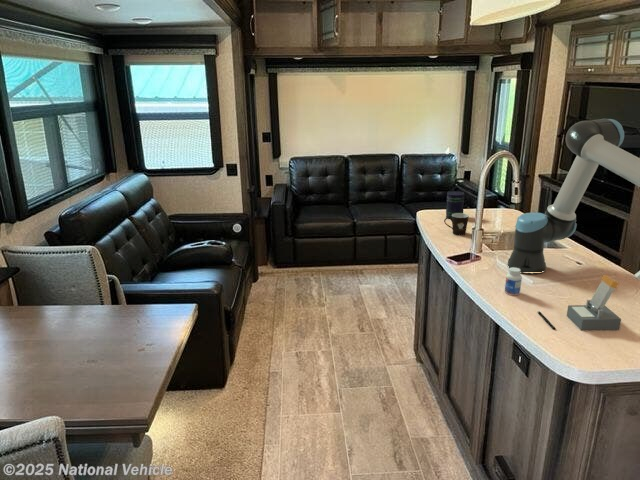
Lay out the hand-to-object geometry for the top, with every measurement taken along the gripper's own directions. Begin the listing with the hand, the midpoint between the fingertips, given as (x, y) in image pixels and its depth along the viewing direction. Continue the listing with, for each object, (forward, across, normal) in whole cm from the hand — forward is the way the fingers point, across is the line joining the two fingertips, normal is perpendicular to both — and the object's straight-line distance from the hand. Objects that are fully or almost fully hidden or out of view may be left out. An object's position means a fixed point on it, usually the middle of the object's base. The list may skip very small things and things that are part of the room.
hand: (637, 278), depth 149 cm
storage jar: (+29, +129, +7) cm, 133 cm away
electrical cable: (+30, +3, +7) cm, 31 cm away
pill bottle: (+32, +25, +9) cm, 42 cm away
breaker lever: (+16, +1, +1) cm, 16 cm away
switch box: (+19, +1, -3) cm, 20 cm away
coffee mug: (+34, +100, +12) cm, 106 cm away
